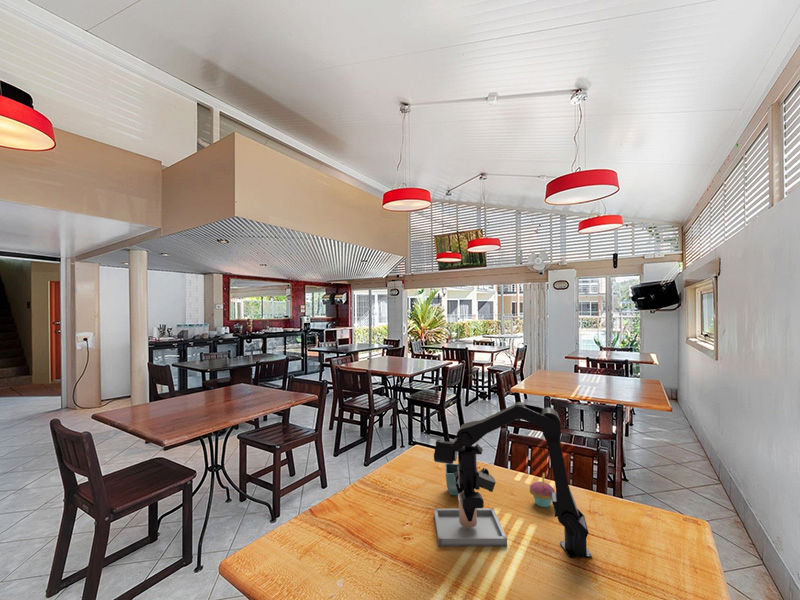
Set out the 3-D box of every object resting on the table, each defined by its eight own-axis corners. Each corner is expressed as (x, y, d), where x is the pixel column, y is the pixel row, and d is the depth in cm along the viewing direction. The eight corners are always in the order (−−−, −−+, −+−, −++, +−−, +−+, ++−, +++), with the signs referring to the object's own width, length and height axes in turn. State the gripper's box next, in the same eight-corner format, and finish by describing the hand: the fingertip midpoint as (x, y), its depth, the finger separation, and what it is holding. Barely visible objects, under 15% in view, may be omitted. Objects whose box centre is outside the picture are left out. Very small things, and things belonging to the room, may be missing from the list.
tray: (507, 546, 107) (507, 538, 107) (438, 546, 107) (438, 538, 107) (493, 515, 123) (493, 508, 123) (434, 515, 123) (434, 508, 123)
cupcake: (559, 510, 125) (558, 475, 125) (534, 510, 125) (533, 475, 125) (549, 497, 134) (549, 464, 134) (526, 497, 134) (525, 464, 134)
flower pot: (468, 487, 142) (467, 464, 142) (470, 499, 133) (469, 474, 133) (445, 486, 142) (445, 463, 143) (445, 498, 134) (445, 473, 134)
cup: (479, 527, 112) (479, 501, 112) (460, 528, 112) (459, 501, 112) (475, 516, 118) (475, 491, 118) (457, 516, 118) (456, 491, 118)
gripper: (500, 479, 106) (501, 533, 105) (486, 453, 124) (486, 499, 124) (462, 479, 106) (463, 534, 105) (453, 453, 124) (454, 500, 124)
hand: (468, 515), depth 115 cm, fingers closed on cup, 6 cm apart
